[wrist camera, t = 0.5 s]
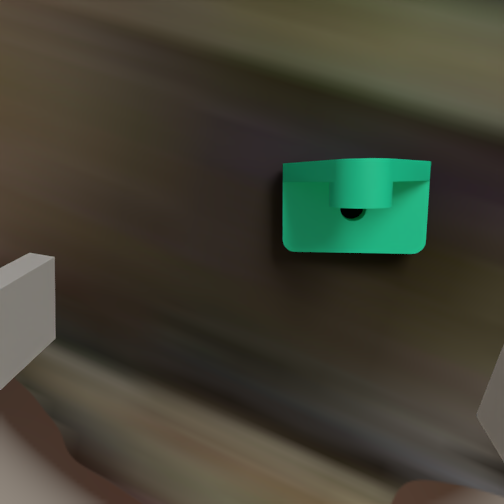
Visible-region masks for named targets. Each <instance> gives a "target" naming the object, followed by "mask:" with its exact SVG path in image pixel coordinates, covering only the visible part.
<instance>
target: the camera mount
mask: <svg viewBox="0 0 504 504" xmlns="http://www.w3.org/2000/svg"><path fill="white" fill-rule="evenodd" d="M430 168H431V161H418V160H404V159H388V158H361V159H336V160H323V161H310V162H297V163H284V164H283V244H284V246H285V247H286V248H287V249H288V250H290V251H293V252H335V253H391V254H415V253H418V252H420V251H421V250H422V249H423V248H424V246H425V243H426V230H427V215H428V199H429V183H430ZM340 208H353V209H363V211H362V213H361V214H360V215H359V216H358V217H356V218H352V219H350V218H346V217H344V216H343V215H342V214H341V211H340Z"/></svg>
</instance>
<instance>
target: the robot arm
mask: <svg viewBox="0 0 504 504" xmlns="http://www.w3.org/2000/svg"><path fill="white" fill-rule="evenodd" d="M54 339H55V257H51V256H46V255H40V254H34V253H28V254H26V255H24V256H22V257H21V258H19V259H17V260H15V261H13V262H11V263H9V264H7V265H5V266H3V267H1V268H0V390H1V389H2V388H3V387H4V386H5V385H6V384H7V383H8V382H9V381H11V380H12V379H13V378H14V377H15V376H16V375H17V374H18V373H19V372H20V371H21V370H22V369H23V368H24V367H26V366H27V365H28V364H29V363H30V362H31V361H32V360H33V359H34V358H35V357H36V356H37V355H38V354H39V353H41V352H42V351H43V350H44V349H45V348H46V347H47V346H48V345H49V344H50V343H51V342H52V341H53V340H54ZM476 417H477V418H478V420H479V422H480V423H481V425H482V427H483V428H484V430H485V432H486V433H487V435H488V437H489V438H490V440H491V442H492V443H493V445H494V447H495V448H496V450H497V452H498V453H499V455H500V457H501V458H502V460H503V462H504V345H503V348H502V350H501V353H500V355H499V358H498V360H497V363H496V365H495V368H494V371H493V373H492V376H491V378H490V381H489V383H488V386H487V388H486V391H485V394H484V396H483V399H482V401H481V404H480V406H479V409H478V412H477V414H476Z"/></svg>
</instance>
